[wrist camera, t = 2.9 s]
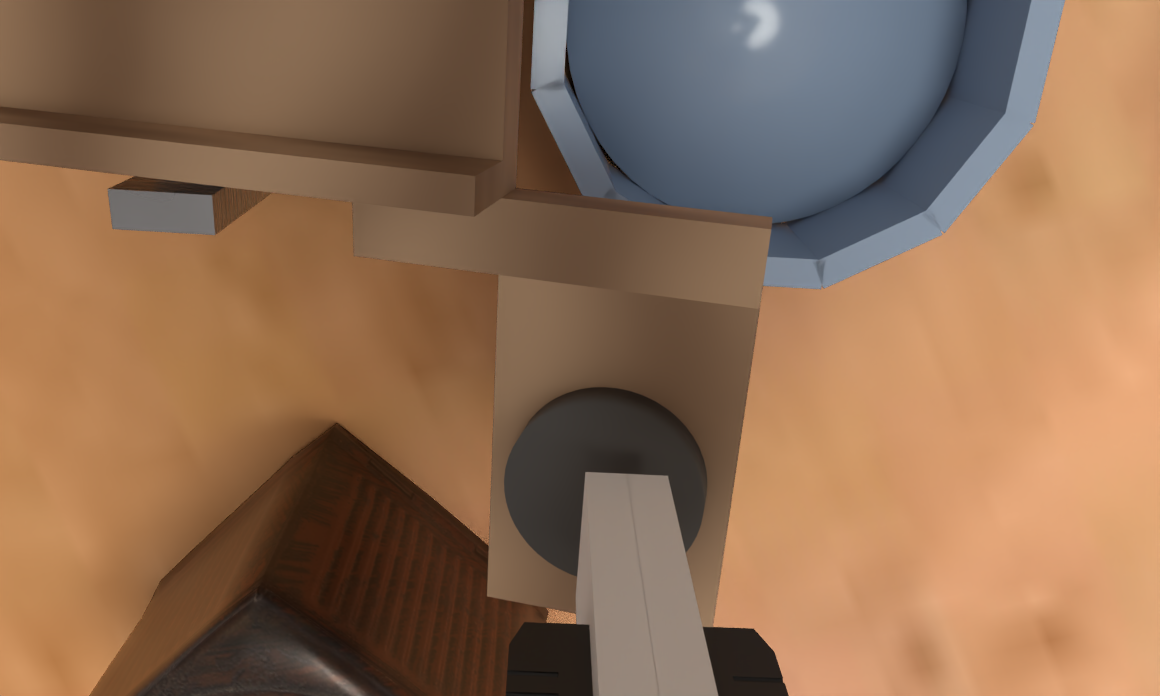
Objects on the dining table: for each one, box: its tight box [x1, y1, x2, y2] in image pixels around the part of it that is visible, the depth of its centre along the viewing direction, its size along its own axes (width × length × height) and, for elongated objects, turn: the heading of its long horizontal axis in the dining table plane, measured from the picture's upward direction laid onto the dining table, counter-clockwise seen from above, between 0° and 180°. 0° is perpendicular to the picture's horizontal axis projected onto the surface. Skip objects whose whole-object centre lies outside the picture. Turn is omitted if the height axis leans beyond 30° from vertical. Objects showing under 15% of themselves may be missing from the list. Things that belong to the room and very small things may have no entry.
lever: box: [0, 0, 772, 627], centre depth 18 cm, size 22×15×4 cm
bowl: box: [531, 0, 1065, 289], centre depth 24 cm, size 13×13×4 cm
